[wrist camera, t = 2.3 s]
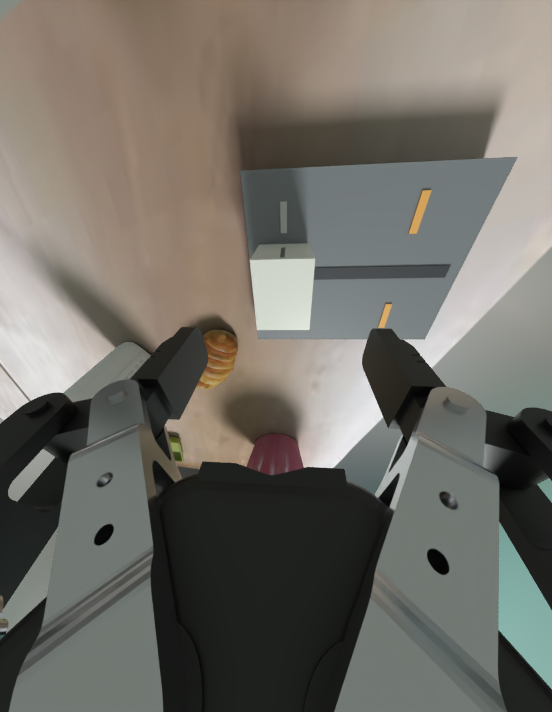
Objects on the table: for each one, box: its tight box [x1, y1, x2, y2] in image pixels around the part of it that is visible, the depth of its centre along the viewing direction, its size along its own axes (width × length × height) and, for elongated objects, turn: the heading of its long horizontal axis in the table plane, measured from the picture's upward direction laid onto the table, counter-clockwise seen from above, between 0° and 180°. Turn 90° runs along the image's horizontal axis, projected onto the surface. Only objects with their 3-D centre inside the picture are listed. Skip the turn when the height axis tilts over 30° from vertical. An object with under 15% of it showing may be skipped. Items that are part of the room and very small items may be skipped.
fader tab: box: [250, 243, 315, 330], centre depth 16 cm, size 4×5×5 cm
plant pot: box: [247, 434, 304, 475], centre depth 38 cm, size 14×14×13 cm
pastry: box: [196, 329, 238, 389], centre depth 27 cm, size 9×7×4 cm
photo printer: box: [63, 342, 151, 402], centre depth 26 cm, size 10×4×12 cm, turn 32°
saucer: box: [169, 437, 184, 462], centre depth 45 cm, size 9×9×2 cm
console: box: [240, 157, 517, 339], centre depth 19 cm, size 18×14×3 cm
